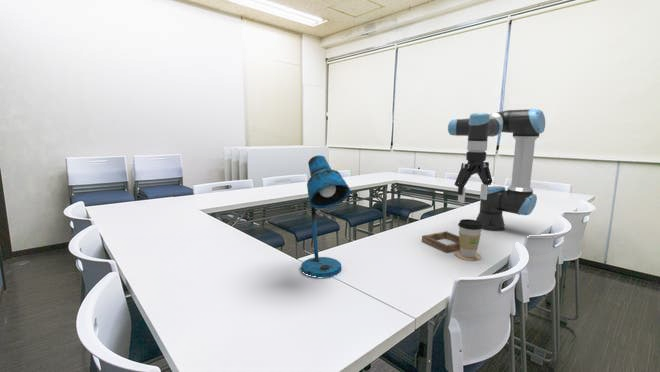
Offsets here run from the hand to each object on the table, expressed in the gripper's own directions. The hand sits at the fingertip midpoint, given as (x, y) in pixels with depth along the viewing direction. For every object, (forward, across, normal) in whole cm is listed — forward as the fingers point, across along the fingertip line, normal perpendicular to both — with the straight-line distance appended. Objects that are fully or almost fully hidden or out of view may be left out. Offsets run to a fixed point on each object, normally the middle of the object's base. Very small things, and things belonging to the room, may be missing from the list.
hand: (472, 200), depth 138 cm
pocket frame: (+25, -2, -14) cm, 28 cm away
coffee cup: (+24, 0, 0) cm, 25 cm away
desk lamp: (+25, +64, -14) cm, 70 cm away
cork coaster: (+25, 0, 0) cm, 25 cm away
